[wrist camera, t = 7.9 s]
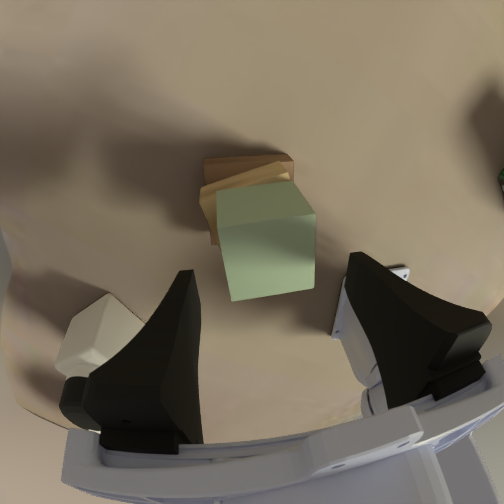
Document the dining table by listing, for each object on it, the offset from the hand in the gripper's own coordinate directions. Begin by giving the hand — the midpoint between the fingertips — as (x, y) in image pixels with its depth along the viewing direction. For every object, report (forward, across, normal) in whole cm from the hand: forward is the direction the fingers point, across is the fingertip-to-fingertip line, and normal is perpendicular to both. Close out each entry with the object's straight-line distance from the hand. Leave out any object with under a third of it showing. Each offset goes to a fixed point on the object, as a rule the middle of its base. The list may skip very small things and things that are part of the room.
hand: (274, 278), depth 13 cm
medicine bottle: (+11, +15, +13) cm, 23 cm away
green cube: (+6, 0, 0) cm, 6 cm away
